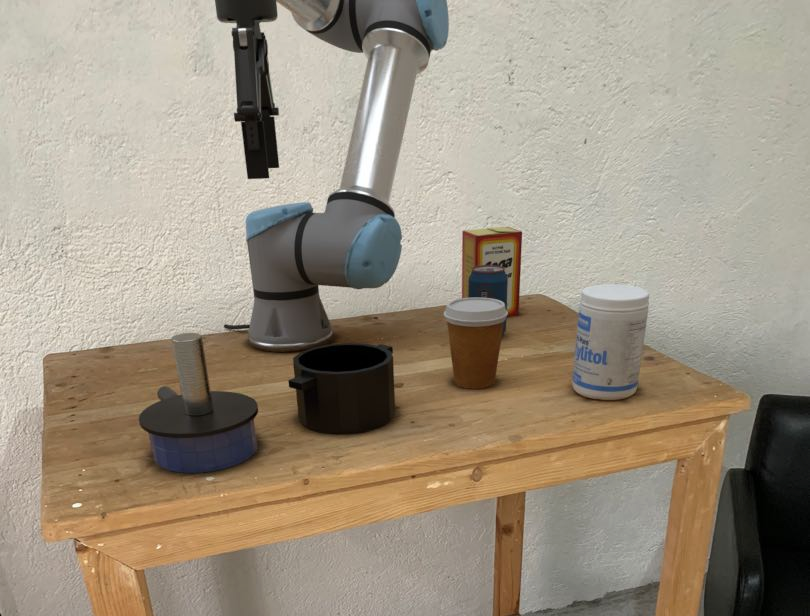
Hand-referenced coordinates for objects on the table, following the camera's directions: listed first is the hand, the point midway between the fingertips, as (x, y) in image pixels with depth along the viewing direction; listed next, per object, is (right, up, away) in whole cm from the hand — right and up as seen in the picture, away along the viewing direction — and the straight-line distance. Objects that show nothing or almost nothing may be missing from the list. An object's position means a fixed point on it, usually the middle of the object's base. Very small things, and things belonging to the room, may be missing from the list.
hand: (264, 173), depth 108 cm
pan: (-7, -38, -4) cm, 39 cm away
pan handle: (-13, -32, +2) cm, 34 cm away
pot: (+11, -32, +5) cm, 34 cm away
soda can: (+34, -13, +37) cm, 52 cm away
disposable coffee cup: (+30, -26, +16) cm, 42 cm away
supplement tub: (+49, -28, +11) cm, 57 cm away
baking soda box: (+36, -5, +51) cm, 63 cm away
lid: (-7, -34, -7) cm, 36 cm away
